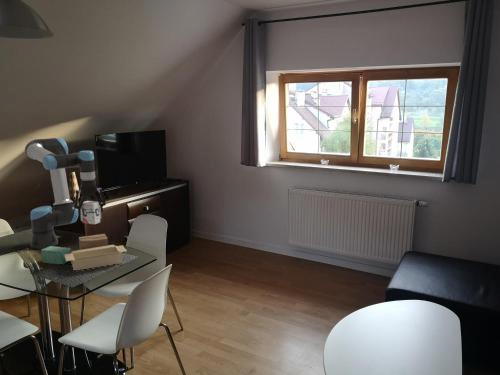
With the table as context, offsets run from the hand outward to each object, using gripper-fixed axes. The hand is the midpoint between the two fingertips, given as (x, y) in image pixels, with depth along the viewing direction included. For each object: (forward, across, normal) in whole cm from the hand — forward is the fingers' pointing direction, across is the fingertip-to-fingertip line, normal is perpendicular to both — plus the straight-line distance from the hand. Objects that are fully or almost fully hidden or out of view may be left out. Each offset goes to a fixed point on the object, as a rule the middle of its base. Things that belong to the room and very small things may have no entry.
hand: (91, 219), depth 231 cm
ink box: (+2, 0, 0) cm, 2 cm away
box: (+21, -19, -1) cm, 29 cm away
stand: (+21, 0, 0) cm, 21 cm away
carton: (+21, -1, -15) cm, 26 cm away
